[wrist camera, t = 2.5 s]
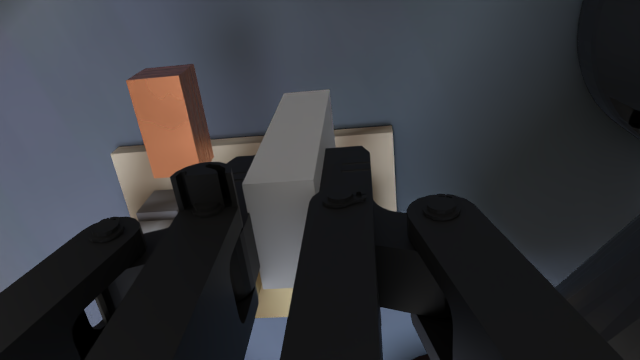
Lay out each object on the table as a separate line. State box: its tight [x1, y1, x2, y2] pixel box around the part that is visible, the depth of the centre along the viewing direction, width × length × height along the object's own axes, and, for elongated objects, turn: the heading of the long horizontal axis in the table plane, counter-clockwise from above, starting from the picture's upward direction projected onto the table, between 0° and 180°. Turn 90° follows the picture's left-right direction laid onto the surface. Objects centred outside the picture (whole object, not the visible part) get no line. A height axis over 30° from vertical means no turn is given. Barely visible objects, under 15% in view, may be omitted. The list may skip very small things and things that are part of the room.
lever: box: [126, 64, 214, 178], centre depth 22 cm, size 14×3×2 cm, turn 6°
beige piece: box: [111, 125, 397, 318], centre depth 29 cm, size 18×10×10 cm, turn 96°
